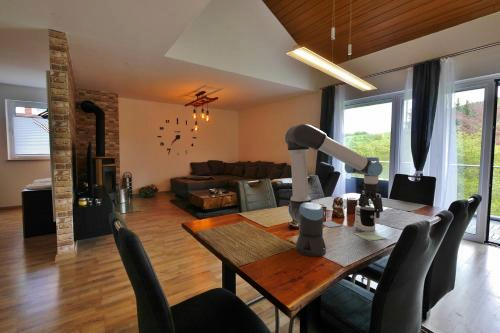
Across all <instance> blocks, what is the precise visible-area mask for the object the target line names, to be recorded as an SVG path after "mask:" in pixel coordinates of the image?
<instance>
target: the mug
mask: <svg viewBox="0 0 500 333" xmlns="http://www.w3.org/2000/svg"><path fill="white" fill-rule="evenodd" d="M374 212H375V208H374V206H373V207H372V206H369V207H360V219H361V223H362V225H364V226H368V227H372V226H374V225H375V226H376V223H374Z"/></svg>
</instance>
